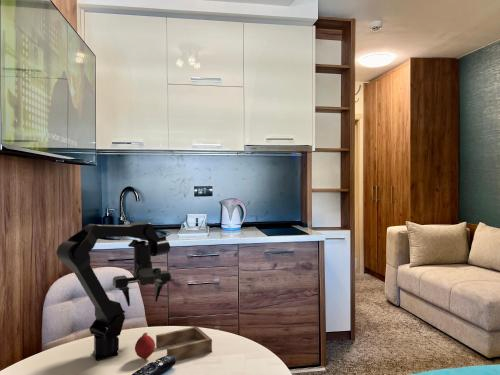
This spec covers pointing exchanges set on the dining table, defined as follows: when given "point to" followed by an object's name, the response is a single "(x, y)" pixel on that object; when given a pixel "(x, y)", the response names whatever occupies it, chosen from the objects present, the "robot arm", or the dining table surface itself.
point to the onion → (144, 346)
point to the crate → (186, 350)
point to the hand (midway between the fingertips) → (142, 303)
